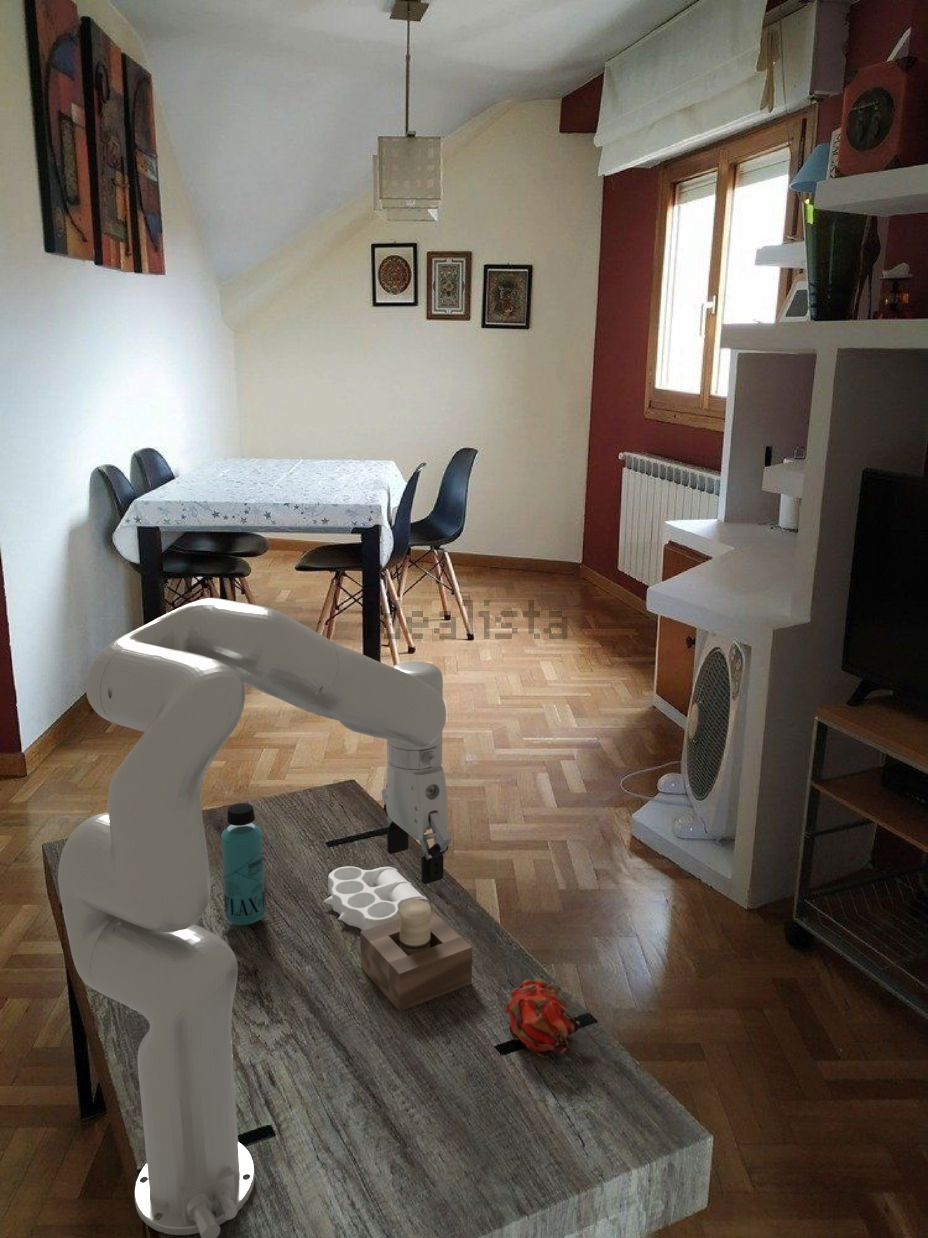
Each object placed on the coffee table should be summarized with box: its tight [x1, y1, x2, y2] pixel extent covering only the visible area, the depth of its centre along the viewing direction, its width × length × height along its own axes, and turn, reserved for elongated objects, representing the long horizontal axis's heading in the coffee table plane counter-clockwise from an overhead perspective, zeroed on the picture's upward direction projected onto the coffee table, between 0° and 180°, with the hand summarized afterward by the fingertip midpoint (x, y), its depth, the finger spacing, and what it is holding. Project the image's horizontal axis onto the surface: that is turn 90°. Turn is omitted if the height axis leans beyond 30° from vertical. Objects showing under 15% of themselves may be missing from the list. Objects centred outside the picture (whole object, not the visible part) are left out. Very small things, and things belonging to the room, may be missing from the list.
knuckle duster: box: [322, 865, 429, 931], centre depth 162 cm, size 3×18×15 cm
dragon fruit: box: [503, 977, 581, 1059], centre depth 130 cm, size 8×8×12 cm
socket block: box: [359, 909, 473, 1012], centre depth 144 cm, size 12×12×6 cm
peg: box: [399, 899, 432, 956], centre depth 143 cm, size 5×5×10 cm
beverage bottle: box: [220, 802, 267, 926], centre depth 154 cm, size 6×7×20 cm
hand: (414, 865), depth 139 cm, fingers open, 9 cm apart
